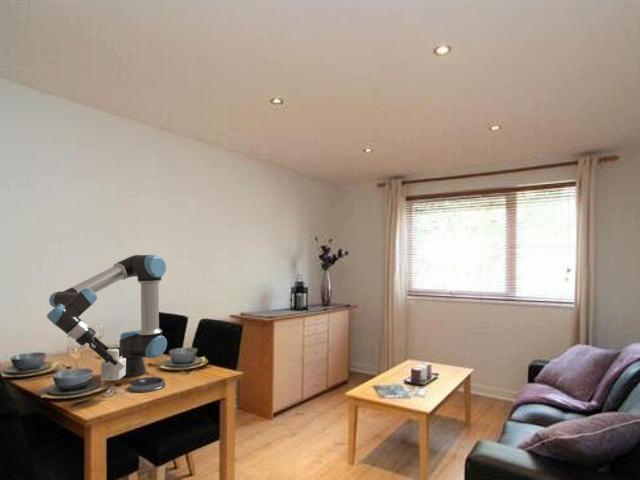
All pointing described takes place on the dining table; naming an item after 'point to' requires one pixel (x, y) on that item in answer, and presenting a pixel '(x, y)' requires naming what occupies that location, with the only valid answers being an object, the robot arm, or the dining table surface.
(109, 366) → the container
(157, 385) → the blue-grey ceramic round dish
